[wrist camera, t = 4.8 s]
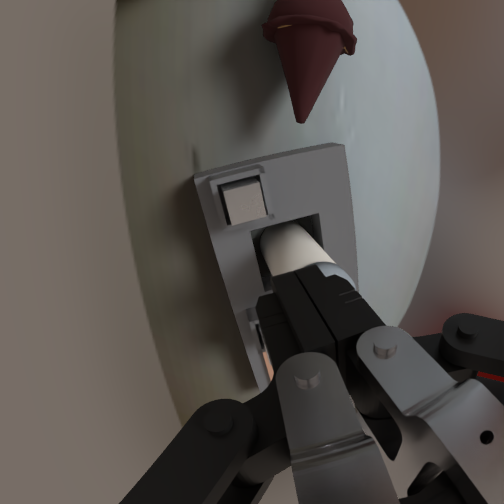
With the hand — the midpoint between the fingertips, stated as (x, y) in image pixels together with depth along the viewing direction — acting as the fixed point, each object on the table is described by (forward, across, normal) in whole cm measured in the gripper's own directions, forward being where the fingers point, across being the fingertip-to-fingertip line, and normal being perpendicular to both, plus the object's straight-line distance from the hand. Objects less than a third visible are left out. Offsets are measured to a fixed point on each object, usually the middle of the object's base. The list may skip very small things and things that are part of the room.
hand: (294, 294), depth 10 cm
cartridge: (+17, -3, +6) cm, 18 cm away
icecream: (+17, -8, -11) cm, 22 cm away
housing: (+17, -3, +10) cm, 20 cm away
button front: (+14, 0, 0) cm, 14 cm away
